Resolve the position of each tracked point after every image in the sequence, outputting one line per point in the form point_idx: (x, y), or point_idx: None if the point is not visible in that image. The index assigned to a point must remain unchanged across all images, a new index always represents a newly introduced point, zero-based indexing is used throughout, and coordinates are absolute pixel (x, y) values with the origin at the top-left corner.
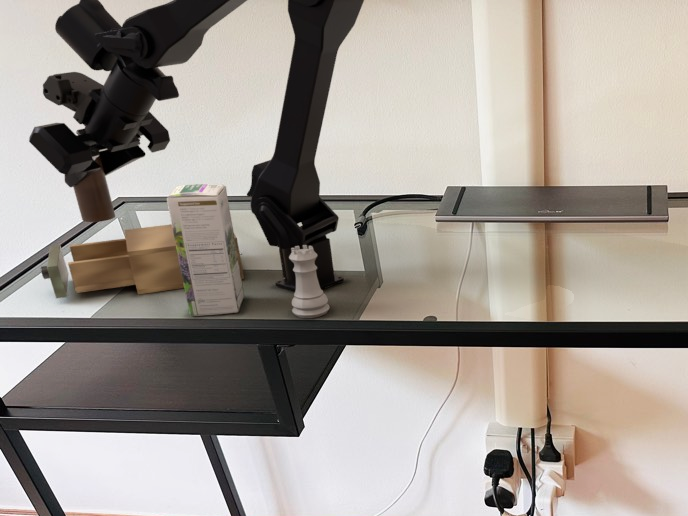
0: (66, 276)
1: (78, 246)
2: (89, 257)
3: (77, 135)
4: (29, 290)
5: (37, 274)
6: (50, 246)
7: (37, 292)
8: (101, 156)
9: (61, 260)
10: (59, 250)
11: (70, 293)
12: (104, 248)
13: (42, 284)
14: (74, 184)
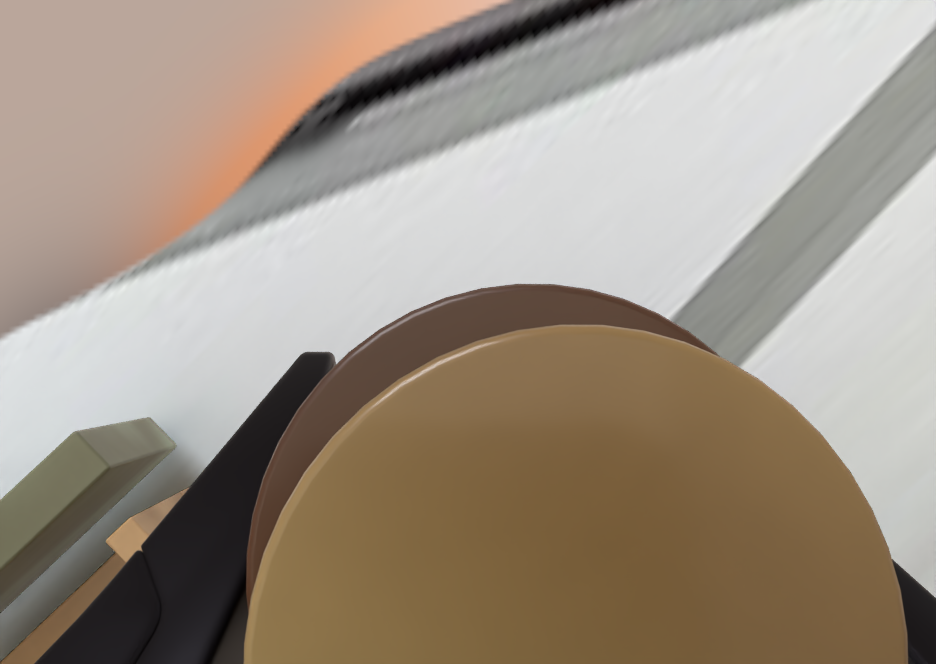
0: (72, 539)
1: None
2: None
3: (763, 469)
4: (26, 378)
5: (212, 234)
6: (62, 445)
7: (14, 434)
8: None
9: (3, 581)
10: (15, 556)
11: (43, 585)
12: None
13: (107, 368)
14: None
